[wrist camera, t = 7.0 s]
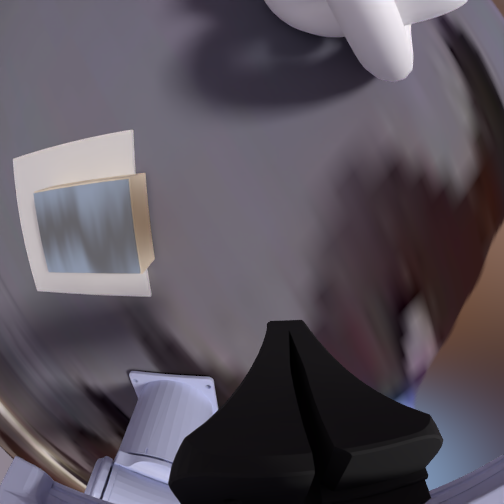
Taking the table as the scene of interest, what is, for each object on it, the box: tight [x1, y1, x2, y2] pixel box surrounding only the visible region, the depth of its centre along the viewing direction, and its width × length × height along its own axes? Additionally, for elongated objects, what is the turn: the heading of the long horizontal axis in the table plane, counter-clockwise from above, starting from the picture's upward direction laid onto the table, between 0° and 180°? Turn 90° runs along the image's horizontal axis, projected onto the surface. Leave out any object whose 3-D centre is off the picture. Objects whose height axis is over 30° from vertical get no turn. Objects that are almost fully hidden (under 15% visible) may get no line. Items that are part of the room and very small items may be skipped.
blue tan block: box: [33, 173, 155, 274], centre depth 17 cm, size 6×3×8 cm
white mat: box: [13, 130, 152, 297], centre depth 19 cm, size 12×12×1 cm
